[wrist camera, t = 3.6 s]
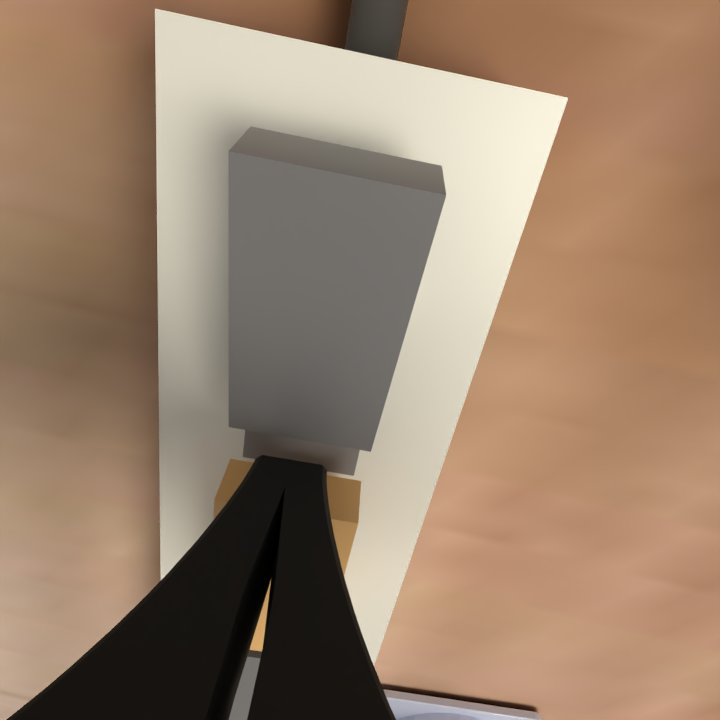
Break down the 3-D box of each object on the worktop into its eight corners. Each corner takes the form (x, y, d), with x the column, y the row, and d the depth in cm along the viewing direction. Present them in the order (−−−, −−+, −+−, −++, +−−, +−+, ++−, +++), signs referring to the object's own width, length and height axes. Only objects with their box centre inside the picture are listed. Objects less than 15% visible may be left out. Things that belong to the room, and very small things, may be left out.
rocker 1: (293, 763, 17) (288, 803, 16) (205, 751, 17) (193, 790, 15) (320, 632, 15) (317, 667, 14) (223, 617, 15) (212, 651, 14)
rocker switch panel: (352, 652, 22) (345, 768, 18) (193, 628, 21) (153, 741, 18) (626, -266, 9) (810, -539, 5) (234, -367, 8) (114, -742, 5)
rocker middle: (326, 616, 14) (320, 660, 13) (222, 600, 14) (209, 643, 13) (360, 480, 11) (358, 523, 10) (230, 458, 11) (214, 499, 10)
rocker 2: (373, 411, 11) (370, 451, 10) (243, 387, 11) (228, 427, 10) (442, 166, 8) (445, 195, 7) (250, 126, 8) (228, 151, 7)
